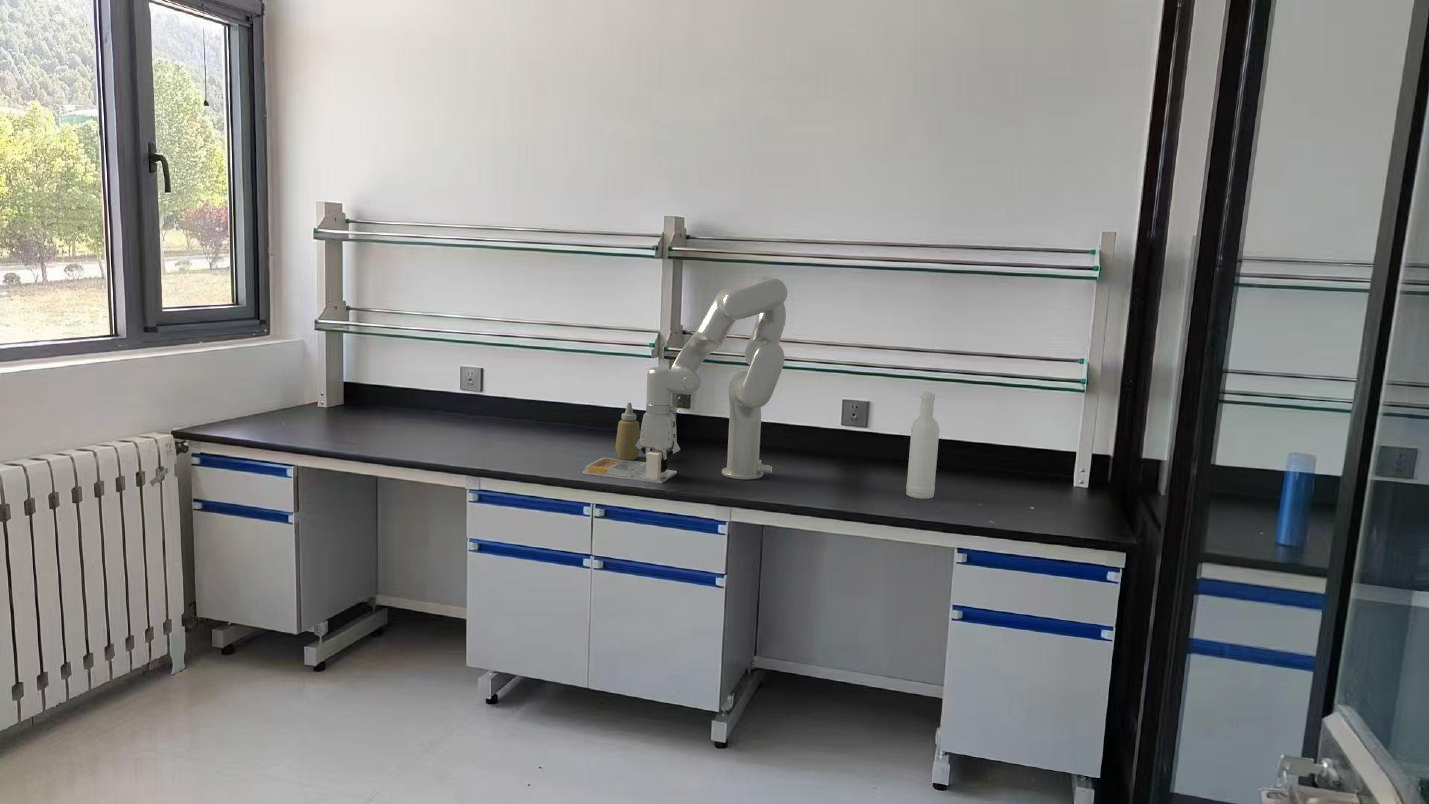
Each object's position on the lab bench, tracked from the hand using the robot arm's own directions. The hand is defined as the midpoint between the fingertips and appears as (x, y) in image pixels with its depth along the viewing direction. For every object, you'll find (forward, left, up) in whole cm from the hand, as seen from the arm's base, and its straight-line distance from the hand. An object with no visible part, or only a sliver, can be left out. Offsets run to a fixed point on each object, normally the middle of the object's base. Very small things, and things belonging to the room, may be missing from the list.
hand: (656, 470), depth 283 cm
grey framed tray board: (+8, 0, -2) cm, 9 cm away
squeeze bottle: (+16, -18, -2) cm, 25 cm away
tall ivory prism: (0, 0, -1) cm, 1 cm away
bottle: (-76, -14, -2) cm, 77 cm away
